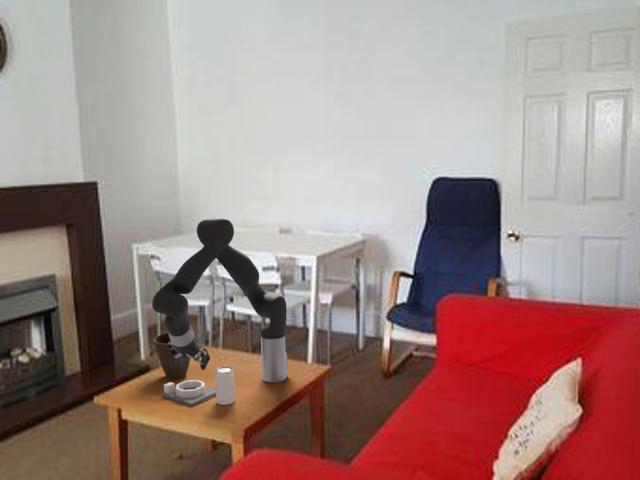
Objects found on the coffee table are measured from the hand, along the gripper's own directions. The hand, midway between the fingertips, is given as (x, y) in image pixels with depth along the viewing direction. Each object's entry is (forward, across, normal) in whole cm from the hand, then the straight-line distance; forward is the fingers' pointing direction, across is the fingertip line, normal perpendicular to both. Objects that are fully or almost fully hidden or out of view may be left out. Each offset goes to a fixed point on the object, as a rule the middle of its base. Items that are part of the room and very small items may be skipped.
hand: (192, 365), depth 210 cm
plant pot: (+30, +20, -10) cm, 38 cm away
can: (+17, -10, +2) cm, 20 cm away
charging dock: (+20, +5, +1) cm, 21 cm away
